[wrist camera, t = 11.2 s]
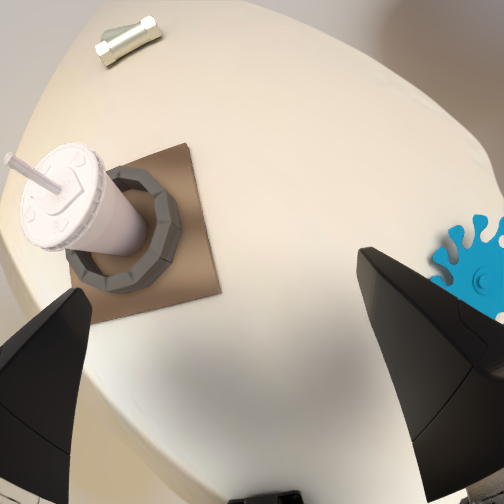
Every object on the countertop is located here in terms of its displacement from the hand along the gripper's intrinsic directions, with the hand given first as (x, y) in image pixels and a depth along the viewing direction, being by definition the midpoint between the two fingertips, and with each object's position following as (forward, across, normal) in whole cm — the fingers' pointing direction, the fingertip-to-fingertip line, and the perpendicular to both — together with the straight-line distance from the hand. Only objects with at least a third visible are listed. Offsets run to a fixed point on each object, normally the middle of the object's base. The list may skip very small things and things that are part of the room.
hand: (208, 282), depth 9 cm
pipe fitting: (+34, +12, -14) cm, 38 cm away
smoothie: (+13, +9, +5) cm, 17 cm away
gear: (+8, -18, +12) cm, 23 cm away
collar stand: (+14, +9, +5) cm, 18 cm away
